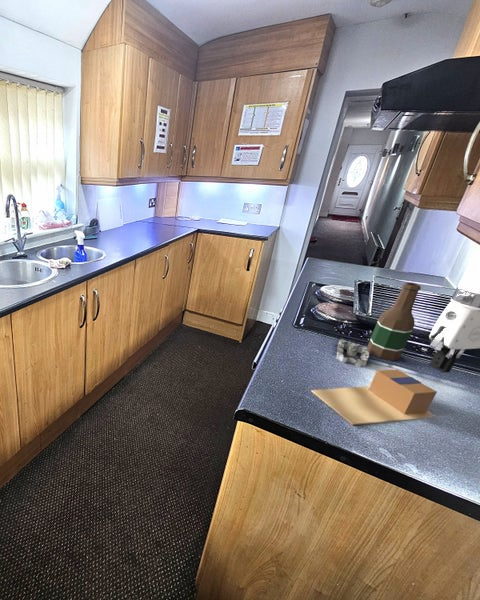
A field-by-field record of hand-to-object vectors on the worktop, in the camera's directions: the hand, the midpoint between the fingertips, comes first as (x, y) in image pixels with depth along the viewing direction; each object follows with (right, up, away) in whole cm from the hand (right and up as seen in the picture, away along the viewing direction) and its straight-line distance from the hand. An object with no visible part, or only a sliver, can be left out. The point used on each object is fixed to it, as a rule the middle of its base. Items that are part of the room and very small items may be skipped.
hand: (438, 368), depth 79 cm
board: (-16, -9, +1) cm, 18 cm away
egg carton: (-5, -1, +20) cm, 21 cm away
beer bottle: (+6, -1, +22) cm, 22 cm away
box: (-9, -8, +2) cm, 12 cm away
